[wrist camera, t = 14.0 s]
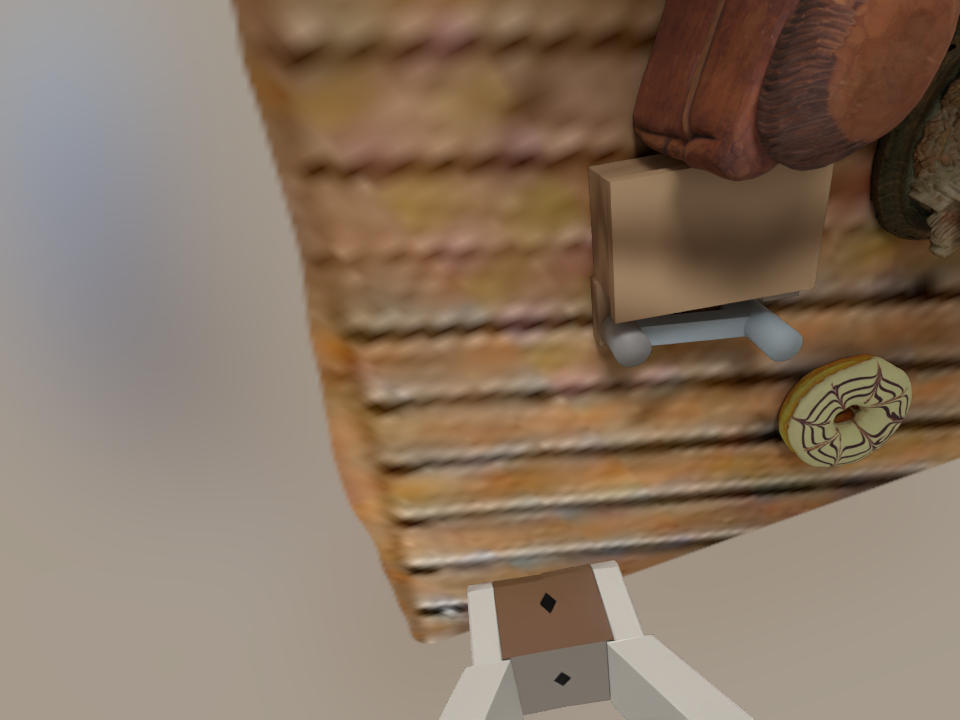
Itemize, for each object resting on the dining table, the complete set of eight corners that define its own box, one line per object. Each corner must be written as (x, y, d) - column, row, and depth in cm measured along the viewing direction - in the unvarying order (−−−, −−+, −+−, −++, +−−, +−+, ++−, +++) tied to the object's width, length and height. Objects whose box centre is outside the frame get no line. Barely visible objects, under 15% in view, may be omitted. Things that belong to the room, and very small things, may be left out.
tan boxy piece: (580, 160, 37) (610, 182, 31) (770, 126, 37) (837, 141, 31) (591, 335, 44) (617, 381, 38) (752, 306, 44) (804, 348, 38)
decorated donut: (906, 400, 50) (939, 425, 47) (798, 464, 53) (823, 491, 50) (866, 325, 46) (900, 347, 43) (751, 399, 49) (774, 425, 46)
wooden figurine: (700, 156, 38) (892, 233, 22) (613, 135, 37) (752, 200, 21) (782, -51, 32) (1113, -142, 17) (683, -84, 31) (941, -214, 16)
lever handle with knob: (593, 333, 44) (619, 378, 38) (594, 303, 42) (622, 345, 36) (748, 318, 44) (798, 360, 38) (754, 287, 43) (807, 327, 37)
